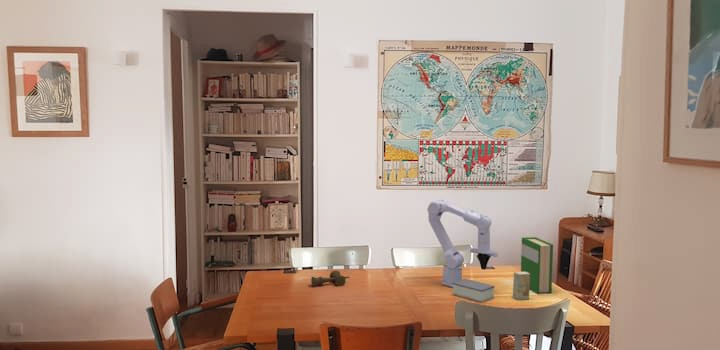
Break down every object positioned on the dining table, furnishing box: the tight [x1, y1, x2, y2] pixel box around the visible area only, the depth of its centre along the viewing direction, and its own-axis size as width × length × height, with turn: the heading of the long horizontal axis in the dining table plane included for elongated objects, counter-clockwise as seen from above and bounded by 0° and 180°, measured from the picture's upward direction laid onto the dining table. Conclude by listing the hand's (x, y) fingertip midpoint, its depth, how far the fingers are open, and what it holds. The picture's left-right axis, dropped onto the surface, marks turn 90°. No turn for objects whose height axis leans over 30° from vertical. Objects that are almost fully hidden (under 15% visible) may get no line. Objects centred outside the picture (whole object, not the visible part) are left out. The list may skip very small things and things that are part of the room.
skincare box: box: [512, 271, 530, 301], centre depth 252 cm, size 6×4×12 cm
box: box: [452, 285, 495, 303], centre depth 255 cm, size 16×10×5 cm, turn 43°
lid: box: [452, 278, 495, 292], centre depth 255 cm, size 17×10×1 cm, turn 43°
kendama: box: [311, 270, 350, 288], centre depth 274 cm, size 6×10×20 cm
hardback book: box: [520, 236, 554, 295], centre depth 267 cm, size 18×7×24 cm, turn 9°
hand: (483, 269), depth 264 cm, fingers closed
